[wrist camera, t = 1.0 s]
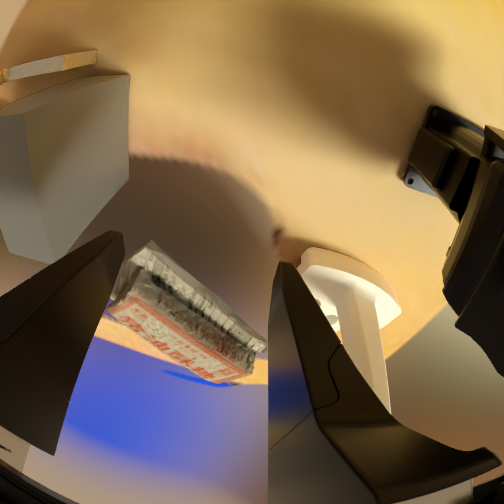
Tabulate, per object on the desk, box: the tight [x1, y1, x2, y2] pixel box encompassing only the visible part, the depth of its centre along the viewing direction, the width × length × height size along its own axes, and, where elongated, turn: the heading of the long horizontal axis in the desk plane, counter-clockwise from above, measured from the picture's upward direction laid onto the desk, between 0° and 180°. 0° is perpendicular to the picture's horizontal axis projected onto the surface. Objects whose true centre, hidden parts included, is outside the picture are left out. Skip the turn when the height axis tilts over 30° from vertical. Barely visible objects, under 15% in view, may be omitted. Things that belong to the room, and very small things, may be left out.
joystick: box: [296, 247, 401, 414], centre depth 19 cm, size 11×8×20 cm
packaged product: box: [107, 240, 268, 384], centre depth 29 cm, size 18×5×10 cm
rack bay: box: [0, 50, 97, 85], centre depth 15 cm, size 10×12×8 cm
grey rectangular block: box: [0, 75, 130, 264], centre depth 14 cm, size 4×8×10 cm, turn 171°
